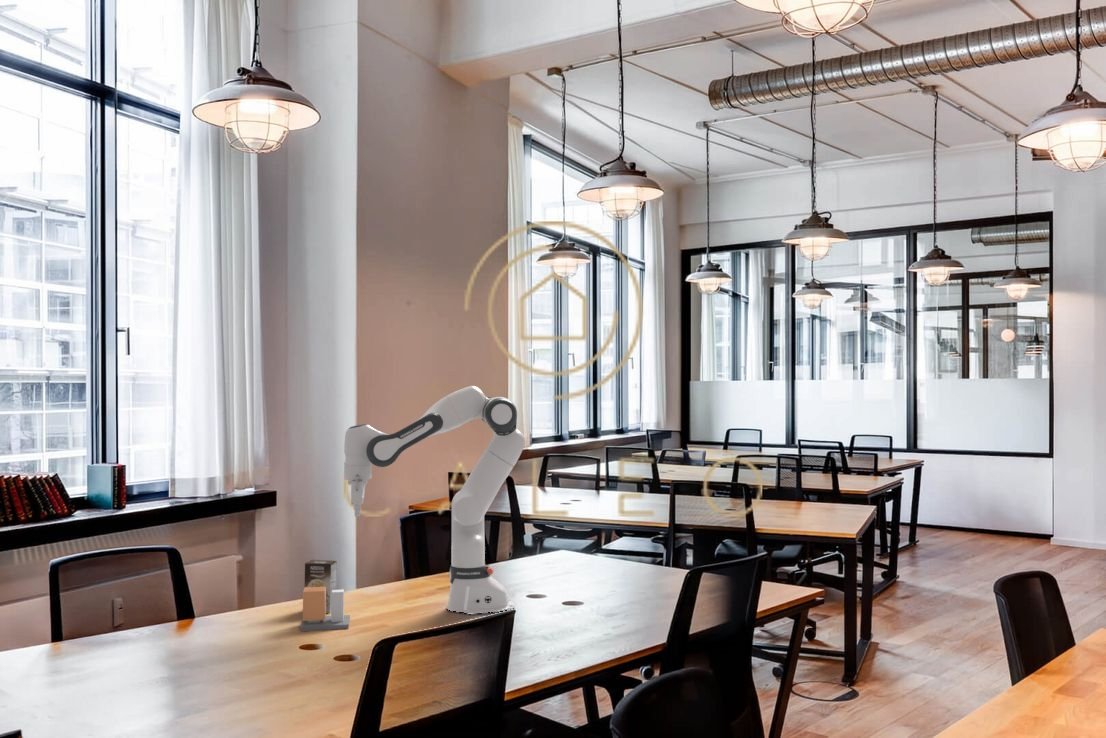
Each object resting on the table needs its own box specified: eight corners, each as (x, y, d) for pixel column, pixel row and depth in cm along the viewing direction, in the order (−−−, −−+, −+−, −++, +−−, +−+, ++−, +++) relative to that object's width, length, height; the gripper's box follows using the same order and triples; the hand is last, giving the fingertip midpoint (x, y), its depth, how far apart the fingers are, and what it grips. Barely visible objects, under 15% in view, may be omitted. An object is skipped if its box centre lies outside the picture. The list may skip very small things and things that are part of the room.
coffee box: (302, 612, 291) (303, 563, 292) (310, 608, 298) (310, 559, 298) (330, 613, 290) (330, 563, 291) (337, 608, 297) (337, 560, 297)
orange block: (325, 614, 279) (326, 586, 279) (324, 619, 273) (324, 590, 273) (304, 615, 278) (304, 587, 278) (302, 621, 272) (303, 591, 272)
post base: (349, 618, 283) (350, 586, 283) (348, 628, 271) (348, 594, 272) (304, 620, 281) (304, 588, 281) (300, 630, 269) (300, 596, 269)
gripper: (367, 476, 284) (366, 520, 284) (368, 471, 304) (368, 512, 304) (346, 476, 283) (346, 520, 282) (349, 471, 303) (348, 512, 303)
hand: (357, 516), depth 293 cm, fingers closed
